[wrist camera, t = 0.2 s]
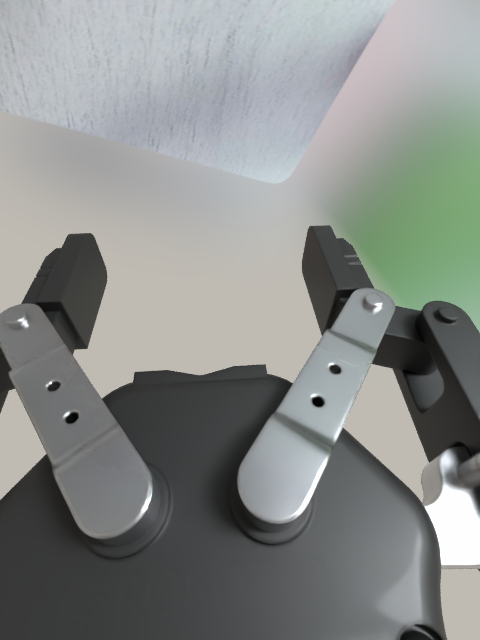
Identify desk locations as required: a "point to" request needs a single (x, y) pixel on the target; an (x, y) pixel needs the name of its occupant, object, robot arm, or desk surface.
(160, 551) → the robot arm
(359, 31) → the desk surface
